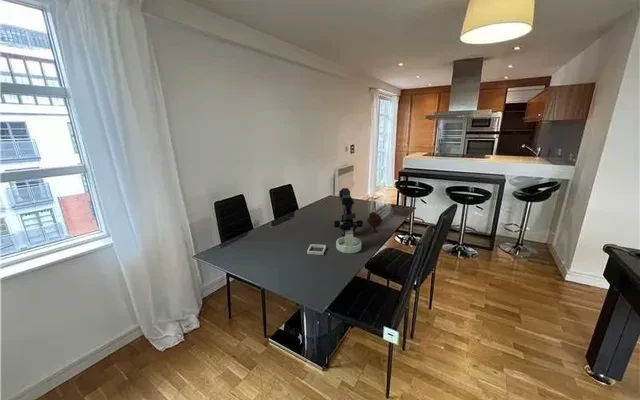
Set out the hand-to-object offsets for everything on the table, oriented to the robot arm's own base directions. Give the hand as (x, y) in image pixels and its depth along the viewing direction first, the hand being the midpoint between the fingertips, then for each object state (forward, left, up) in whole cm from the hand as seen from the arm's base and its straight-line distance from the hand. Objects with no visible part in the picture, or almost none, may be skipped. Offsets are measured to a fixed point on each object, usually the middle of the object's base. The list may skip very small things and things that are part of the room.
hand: (349, 236), depth 168 cm
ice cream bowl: (-30, +16, -9) cm, 36 cm away
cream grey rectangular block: (-1, 0, -7) cm, 7 cm away
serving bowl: (-1, 0, -9) cm, 9 cm away
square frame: (+6, -20, -9) cm, 23 cm away
